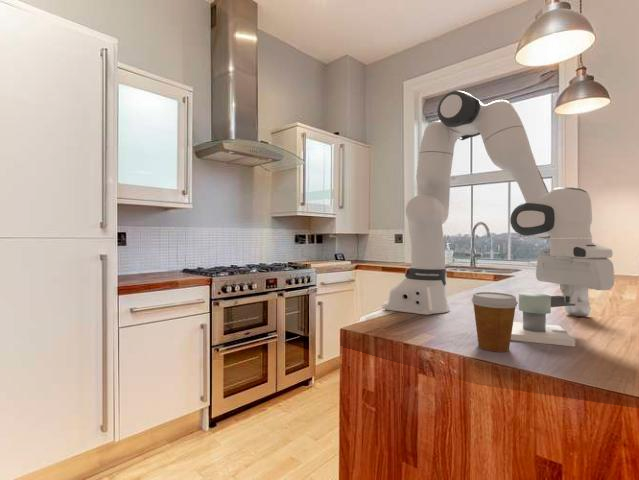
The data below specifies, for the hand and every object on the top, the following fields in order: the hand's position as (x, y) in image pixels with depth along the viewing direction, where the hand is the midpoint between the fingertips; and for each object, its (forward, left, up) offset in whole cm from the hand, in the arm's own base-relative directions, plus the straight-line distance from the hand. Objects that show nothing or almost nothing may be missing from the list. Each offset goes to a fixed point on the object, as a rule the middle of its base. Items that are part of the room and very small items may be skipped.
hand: (570, 302), depth 91 cm
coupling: (-5, -1, -2) cm, 5 cm away
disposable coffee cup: (-19, -19, -8) cm, 29 cm away
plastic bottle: (+8, +25, -8) cm, 28 cm away
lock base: (-9, -5, -8) cm, 13 cm away
